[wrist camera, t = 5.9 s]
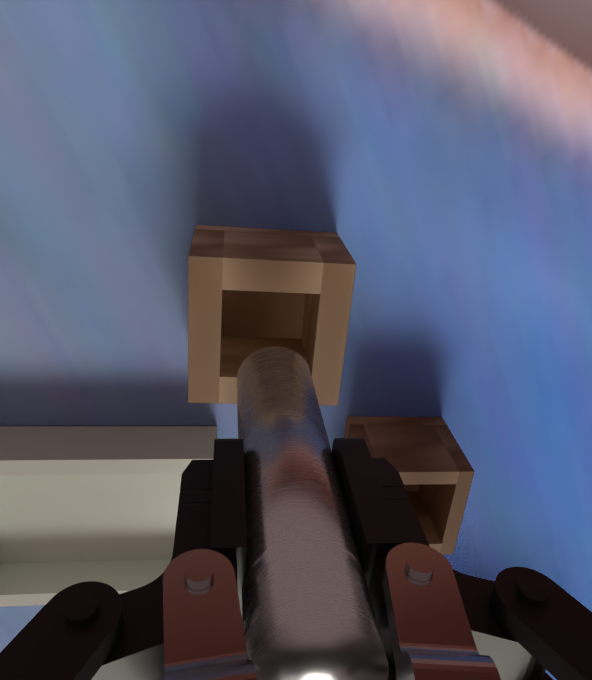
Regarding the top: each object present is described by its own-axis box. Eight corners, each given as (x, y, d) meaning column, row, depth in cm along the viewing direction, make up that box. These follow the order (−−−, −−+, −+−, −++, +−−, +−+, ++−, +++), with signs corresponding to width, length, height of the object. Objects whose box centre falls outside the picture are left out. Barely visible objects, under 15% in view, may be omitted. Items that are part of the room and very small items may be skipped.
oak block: (336, 231, 24) (356, 264, 20) (322, 354, 27) (337, 405, 23) (196, 224, 24) (188, 256, 20) (195, 351, 26) (188, 402, 22)
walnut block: (441, 415, 29) (474, 471, 25) (424, 491, 31) (453, 554, 27) (346, 415, 29) (365, 472, 25) (336, 492, 31) (352, 556, 27)
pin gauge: (313, 346, 18) (398, 627, 9) (307, 410, 19) (378, 720, 10) (237, 345, 18) (246, 634, 9) (235, 410, 19) (242, 730, 10)
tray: (216, 426, 28) (215, 458, 26) (215, 559, 32) (214, 598, 29) (-41, 426, 26) (-68, 461, 24) (-10, 566, 30) (-30, 607, 28)
